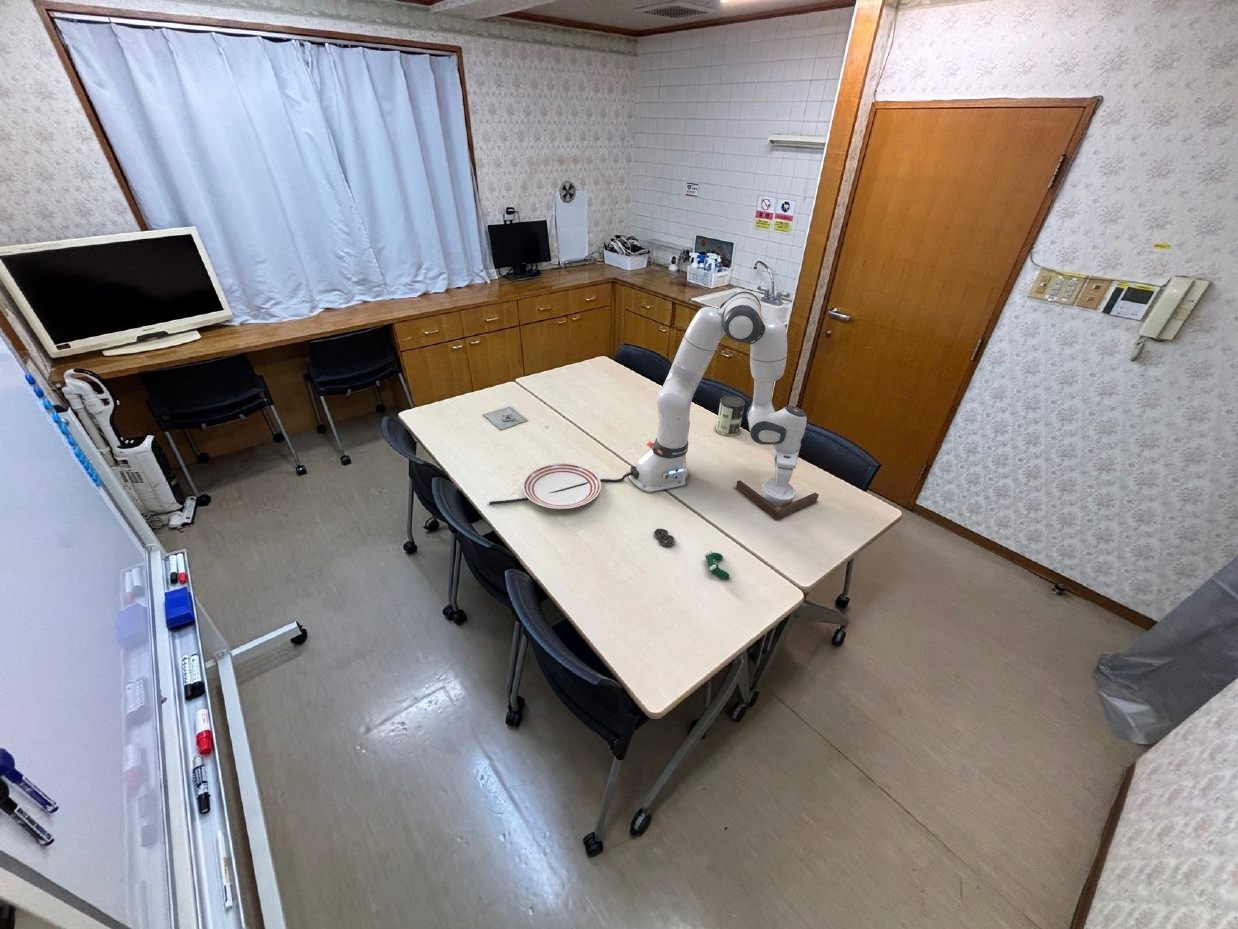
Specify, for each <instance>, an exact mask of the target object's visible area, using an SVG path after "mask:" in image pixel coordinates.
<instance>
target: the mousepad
mask: <svg viewBox="0 0 1238 929" xmlns="http://www.w3.org/2000/svg"><path fill="white" fill-rule="evenodd" d="M483 416H484V417H485V418H487V420H489V421H490V422H491V423H492V424H493V425H494V426H495V427H497V428H498V429H499V430H504V429H507V428H510V427H513V426H515V425H518V424H521V423H524V422H527V419H526V418H524V417H523V416H522V415H521V414H519V413H518V412H517V411H515V409H513V408H512V407H505V408H503V409H499V410H495V411H493V412H489V413H485V414H483Z"/></svg>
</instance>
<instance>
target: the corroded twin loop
mask: <svg viewBox="0 0 1238 929" xmlns="http://www.w3.org/2000/svg"><path fill="white" fill-rule="evenodd" d="M653 533H654V534H653V535H654V536H655V538H656V539H659V543H660V544H661V545H663V546H669V547H670V546H673V544H675V543H674V542H675V537H674V536H673V535H671V534H669V531H668V530H667V529H665V528H656V529H655V530H654V532H653Z"/></svg>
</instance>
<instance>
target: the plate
mask: <svg viewBox="0 0 1238 929" xmlns="http://www.w3.org/2000/svg"><path fill="white" fill-rule="evenodd" d="M600 479H601V478H600V477H599V476H598V475H597V474H596V473H595V472H594V471H593V470H591V469H590V468H587V467H585V466H583V465H579V464H575V463H569V462H558V463H557V462H555V463H550V464H546V465H543V466H542V465H541V466H540V467H537V468H535V469H533V470H532V471H530V472H529V473H528V474H527V475H526V476H525V477H524V479H523V481H522V485H521V486H522V491H523V494H524V496H525V498H528V499H529V500H528V501H530V502H532V503H533V504H535V505H537V506H541V507H542V508H548V509H554V510H569V509H574V508H578V507H582V506H585V505H587V504H589V503H591V502H592V501H594V499H596V498H597V497H598V496H599V494H600V492H601V490H602V482H601V481H600ZM586 482H589V483H587V484H585V485H582V486H578V487H574V488H571V489H567V490H564V491H559V492H555V493H550V492H554V491H557V490H561V489H565V488H568V487H571V486H575V485H579V484H582V483H586ZM547 493H548V494H547Z"/></svg>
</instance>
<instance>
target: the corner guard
mask: <svg viewBox="0 0 1238 929" xmlns="http://www.w3.org/2000/svg"><path fill="white" fill-rule="evenodd" d="M735 490H736V491H737V492H739V493H740V495H743V496H744V497H745V498H747V500H749V501H751V503H752V504H754V505H756V506H757V507H758V508H760V509H761V510H762V511H763V512H765V514H767V515H768V516H770V517H771V518H773V519H774V520H775V521H778V520H780V519H782V518H784V517H786V516H789V515H791V514H793V513H796V512H797V511H800V510H803V509H804V508H806V507H809V506H811V505H814V504H815V503H817V502H818V498H819V495H820V494H818V493H817V492H812V493H810V494H808V495H806V496H804V497H802V498H799V499H796V500H794V501H792V502H791V503H790V504H787V505H785V506H783V507H779V506H778V507H776V506H774V505H773V504H772V503H770V502H769V501H768V500H766V499H765V498H763V495H761V494H759V493H758V492H757V491H755V490H754V489H753V488H752V487H750V486H749V485H747V484H746V483H745V482H744V481H742V480H741V479H739V480H737V481H736V484H735Z"/></svg>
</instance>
